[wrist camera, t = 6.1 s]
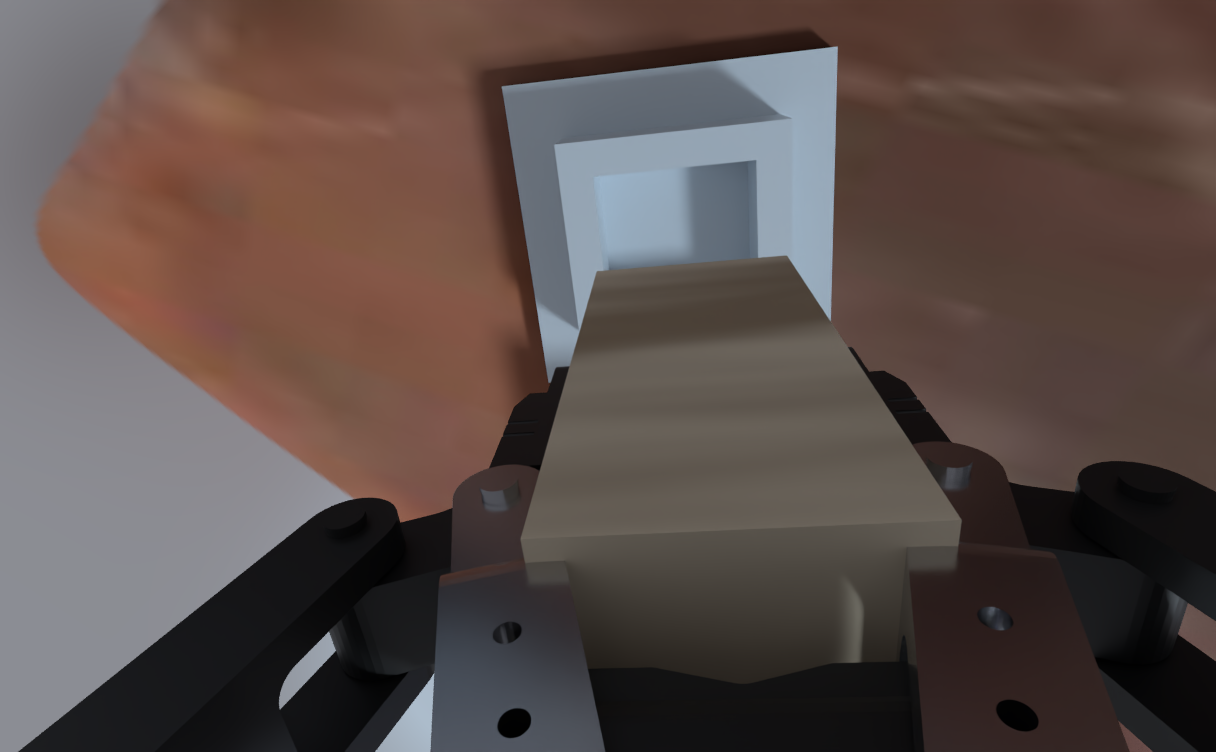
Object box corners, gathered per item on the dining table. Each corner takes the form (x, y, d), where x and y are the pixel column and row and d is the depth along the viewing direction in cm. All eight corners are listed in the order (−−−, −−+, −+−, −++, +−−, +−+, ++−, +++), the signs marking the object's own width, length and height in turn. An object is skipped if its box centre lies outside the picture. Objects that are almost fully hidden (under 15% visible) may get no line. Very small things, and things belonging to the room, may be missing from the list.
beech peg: (596, 271, 15) (520, 539, 6) (787, 254, 14) (961, 520, 6) (615, 433, 16) (573, 809, 8) (785, 423, 16) (923, 808, 8)
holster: (506, 85, 26) (486, 88, 23) (832, 47, 25) (856, 44, 22) (551, 375, 31) (539, 408, 28) (825, 354, 29) (844, 387, 26)
